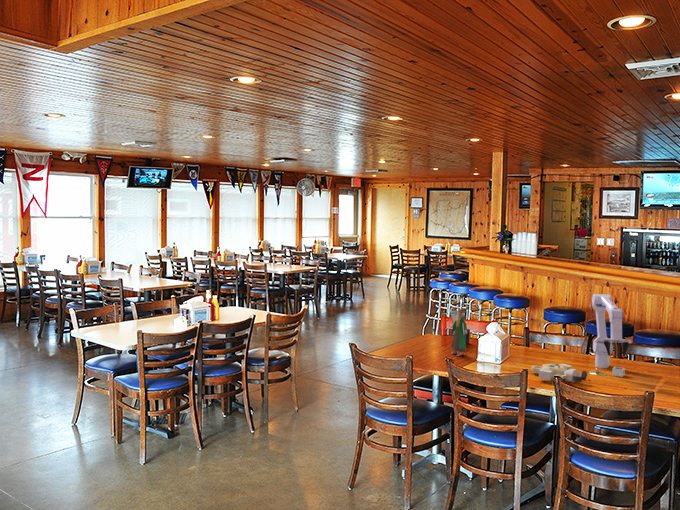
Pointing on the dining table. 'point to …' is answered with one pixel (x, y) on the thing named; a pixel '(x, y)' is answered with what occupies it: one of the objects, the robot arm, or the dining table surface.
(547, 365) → the toy
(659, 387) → the dining table surface
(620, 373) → the collar
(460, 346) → the figurine
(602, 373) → the hub
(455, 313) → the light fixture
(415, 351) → the dining table surface
